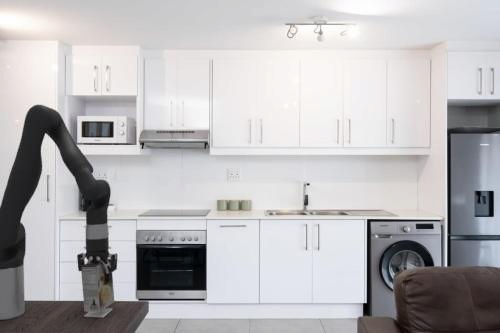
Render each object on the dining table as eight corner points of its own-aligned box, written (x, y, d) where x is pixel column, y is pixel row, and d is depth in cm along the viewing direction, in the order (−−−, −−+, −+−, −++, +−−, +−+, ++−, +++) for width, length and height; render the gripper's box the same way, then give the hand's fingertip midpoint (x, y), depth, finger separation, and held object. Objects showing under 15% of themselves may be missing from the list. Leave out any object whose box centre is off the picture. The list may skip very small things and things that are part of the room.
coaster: (83, 316, 131) (83, 315, 131) (94, 309, 138) (94, 307, 138) (103, 317, 131) (103, 316, 131) (112, 309, 138) (112, 308, 138)
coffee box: (99, 301, 140) (96, 258, 139) (114, 302, 138) (112, 258, 138) (83, 311, 131) (80, 265, 130) (100, 312, 129) (97, 265, 129)
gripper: (71, 238, 131) (72, 286, 131) (111, 238, 130) (112, 287, 130) (83, 234, 139) (84, 279, 139) (121, 234, 137) (121, 280, 137)
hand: (97, 283), depth 134 cm, fingers closed on coffee box, 6 cm apart
